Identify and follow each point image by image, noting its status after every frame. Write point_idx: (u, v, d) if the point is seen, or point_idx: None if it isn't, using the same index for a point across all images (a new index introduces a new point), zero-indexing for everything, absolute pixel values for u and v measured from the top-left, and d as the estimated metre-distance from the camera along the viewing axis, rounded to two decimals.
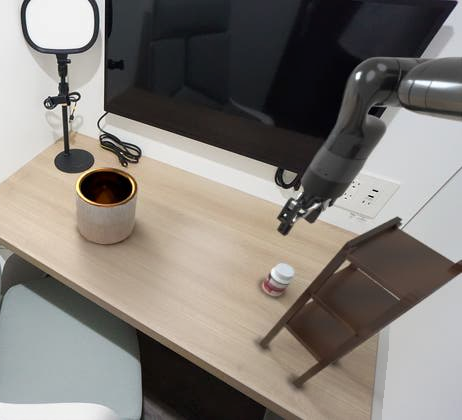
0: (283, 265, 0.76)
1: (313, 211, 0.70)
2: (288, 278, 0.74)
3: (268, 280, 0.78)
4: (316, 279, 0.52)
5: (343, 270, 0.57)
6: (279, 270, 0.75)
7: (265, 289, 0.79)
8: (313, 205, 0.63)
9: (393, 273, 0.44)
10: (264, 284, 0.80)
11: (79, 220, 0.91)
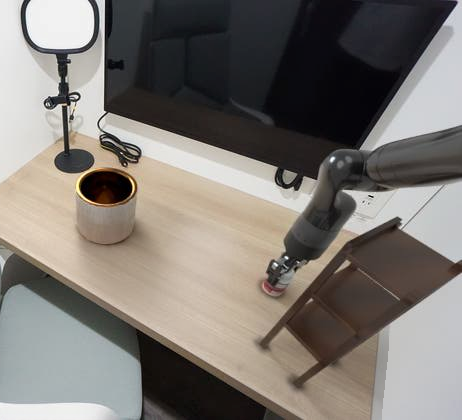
0: None
1: None
2: (288, 278, 0.74)
3: None
4: (316, 279, 0.52)
5: (343, 270, 0.57)
6: None
7: (265, 289, 0.79)
8: (294, 263, 0.69)
9: (393, 273, 0.44)
10: (264, 284, 0.80)
11: (79, 220, 0.91)
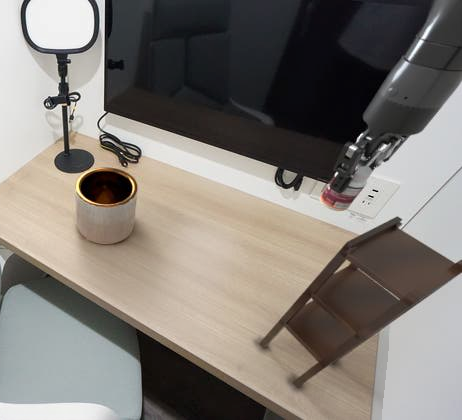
0: None
1: None
2: (363, 178, 0.53)
3: None
4: (316, 279, 0.52)
5: (343, 270, 0.57)
6: None
7: (325, 202, 0.59)
8: (380, 147, 0.48)
9: (393, 273, 0.44)
10: (323, 196, 0.59)
11: (79, 220, 0.91)
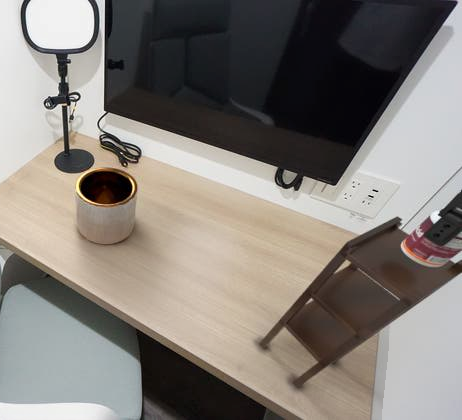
0: None
1: None
2: None
3: None
4: (316, 279, 0.52)
5: (343, 270, 0.57)
6: None
7: (413, 253, 0.42)
8: None
9: (393, 273, 0.44)
10: (409, 245, 0.42)
11: (79, 220, 0.91)
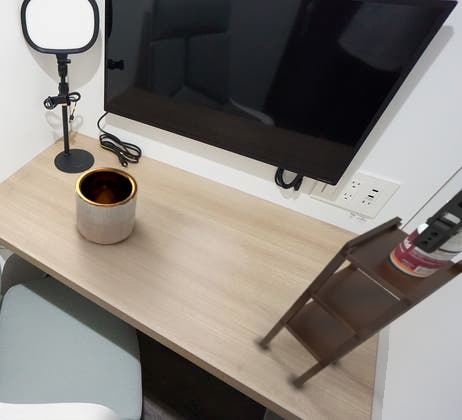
0: (448, 216, 0.40)
1: None
2: None
3: (412, 247, 0.42)
4: (316, 279, 0.52)
5: (343, 270, 0.57)
6: None
7: (401, 264, 0.44)
8: None
9: (393, 273, 0.44)
10: (398, 256, 0.44)
11: (79, 220, 0.91)
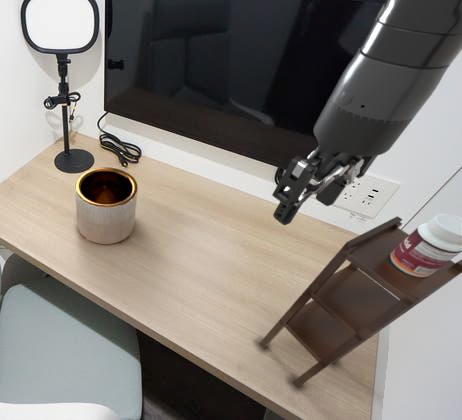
0: (448, 216, 0.40)
1: (332, 185, 0.43)
2: None
3: (412, 247, 0.42)
4: (316, 279, 0.52)
5: (343, 270, 0.57)
6: (445, 225, 0.39)
7: (401, 264, 0.44)
8: (335, 170, 0.36)
9: (393, 273, 0.44)
10: (398, 256, 0.44)
11: (79, 220, 0.91)
